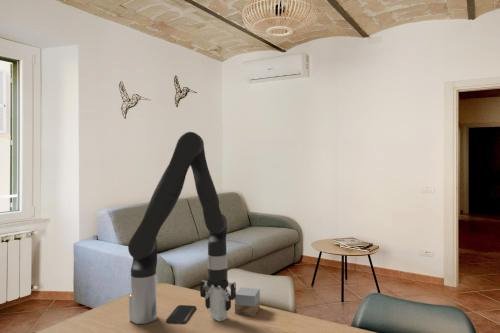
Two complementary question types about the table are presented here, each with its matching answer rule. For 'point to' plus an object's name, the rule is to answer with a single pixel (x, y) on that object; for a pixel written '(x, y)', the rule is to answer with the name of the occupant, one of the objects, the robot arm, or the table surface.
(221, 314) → the skincare box
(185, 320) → the phone
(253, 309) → the tower bottom
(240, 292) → the tower top
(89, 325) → the table surface
